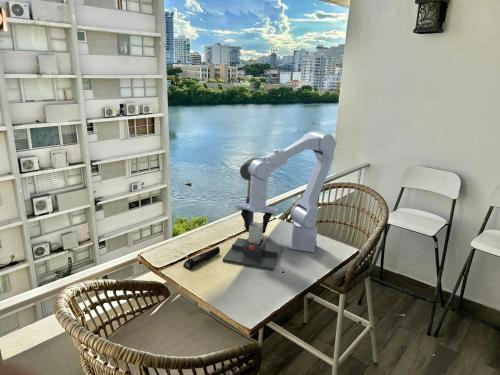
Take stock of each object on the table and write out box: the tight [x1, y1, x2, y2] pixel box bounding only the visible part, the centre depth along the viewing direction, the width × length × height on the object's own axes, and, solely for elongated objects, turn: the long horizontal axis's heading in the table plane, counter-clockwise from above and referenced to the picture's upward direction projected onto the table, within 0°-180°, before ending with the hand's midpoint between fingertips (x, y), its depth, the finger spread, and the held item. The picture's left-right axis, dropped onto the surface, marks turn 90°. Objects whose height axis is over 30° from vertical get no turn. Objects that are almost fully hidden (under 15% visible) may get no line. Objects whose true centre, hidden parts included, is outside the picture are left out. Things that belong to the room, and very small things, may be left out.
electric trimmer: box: [182, 246, 221, 271], centre depth 124 cm, size 4×16×3 cm, turn 141°
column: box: [248, 221, 263, 246], centre depth 128 cm, size 4×4×8 cm
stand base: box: [222, 236, 284, 272], centre depth 130 cm, size 18×18×5 cm
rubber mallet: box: [239, 157, 261, 230], centre depth 147 cm, size 12×8×30 cm, turn 164°
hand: (255, 231), depth 128 cm, fingers open, 5 cm apart
